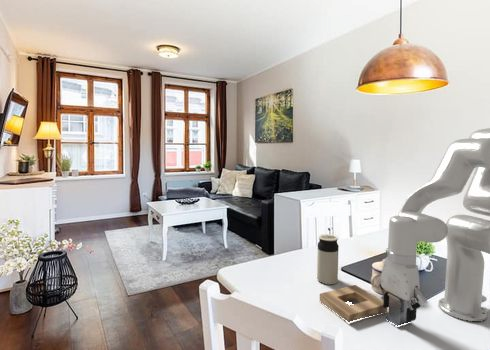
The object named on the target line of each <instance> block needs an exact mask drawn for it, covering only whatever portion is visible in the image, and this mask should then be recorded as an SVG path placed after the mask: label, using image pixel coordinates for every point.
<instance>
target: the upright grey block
mask: <svg viewBox="0 0 490 350" xmlns="http://www.w3.org/2000/svg"><path fill="white" fill-rule="evenodd" d="M388 296H389V307H388V314H387V315H388V316H386V317H385V320H386V319H387V320H388V321H390V322H392V323H394V324H395V325H397V326H398V325H401V324H404V323H408V322H407V321H406V312H407V308H409V307H408V304H407V302H406V301H405V300H403V299H401V298H399V297H397V296H395V295H393V294H392V293H390V292H389V293H388Z"/></svg>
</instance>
